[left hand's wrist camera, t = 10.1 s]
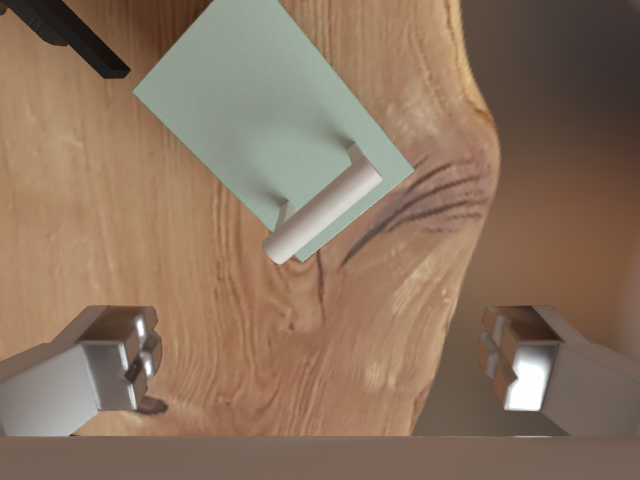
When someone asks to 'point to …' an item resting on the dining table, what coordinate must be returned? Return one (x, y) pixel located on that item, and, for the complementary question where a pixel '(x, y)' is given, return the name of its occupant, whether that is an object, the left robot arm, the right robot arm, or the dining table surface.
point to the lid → (273, 123)
